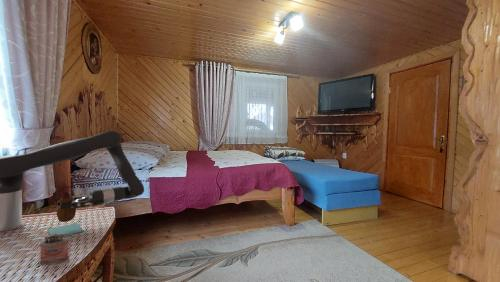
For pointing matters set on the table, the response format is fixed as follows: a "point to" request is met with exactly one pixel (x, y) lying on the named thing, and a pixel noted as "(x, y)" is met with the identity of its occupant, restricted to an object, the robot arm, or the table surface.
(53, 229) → the mat
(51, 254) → the lighter
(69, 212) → the wooden figurine
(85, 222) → the table surface
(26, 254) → the table surface
